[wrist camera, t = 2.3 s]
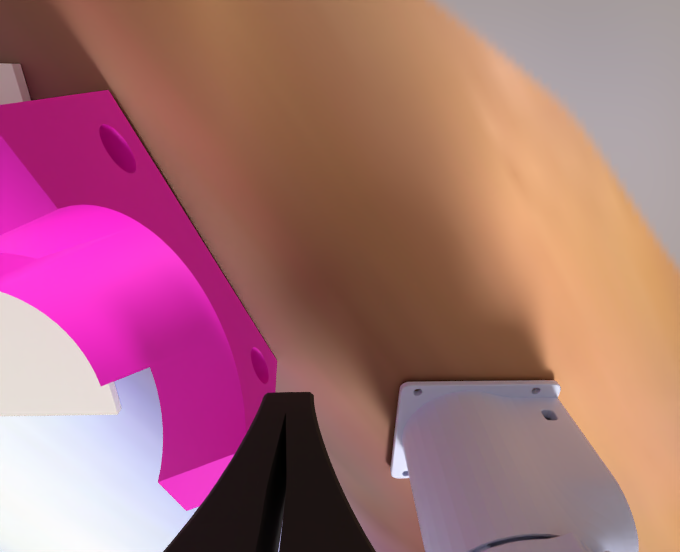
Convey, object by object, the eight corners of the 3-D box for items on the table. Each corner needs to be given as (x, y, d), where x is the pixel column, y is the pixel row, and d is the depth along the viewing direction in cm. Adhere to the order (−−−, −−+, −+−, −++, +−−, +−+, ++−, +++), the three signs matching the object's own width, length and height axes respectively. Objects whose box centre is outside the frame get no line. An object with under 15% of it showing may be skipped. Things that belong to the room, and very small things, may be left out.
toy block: (-25, 153, 17) (-234, 212, 10) (108, 89, 16) (-21, 108, 10) (178, 399, 24) (132, 530, 17) (277, 360, 23) (269, 480, 16)
